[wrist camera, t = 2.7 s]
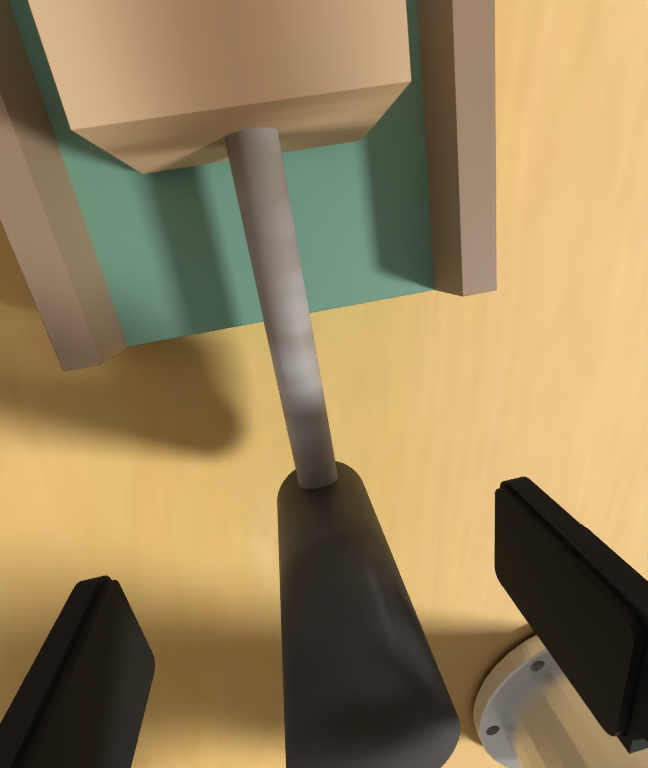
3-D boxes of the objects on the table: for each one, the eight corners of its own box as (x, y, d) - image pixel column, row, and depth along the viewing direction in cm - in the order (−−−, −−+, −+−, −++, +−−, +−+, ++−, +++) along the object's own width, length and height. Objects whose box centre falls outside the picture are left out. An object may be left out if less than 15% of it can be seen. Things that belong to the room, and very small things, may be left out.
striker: (346, 4, 10) (622, -881, 2) (400, 497, 15) (539, 754, 7) (102, 35, 9) (-641, -935, 2) (245, 531, 14) (220, 845, 7)
